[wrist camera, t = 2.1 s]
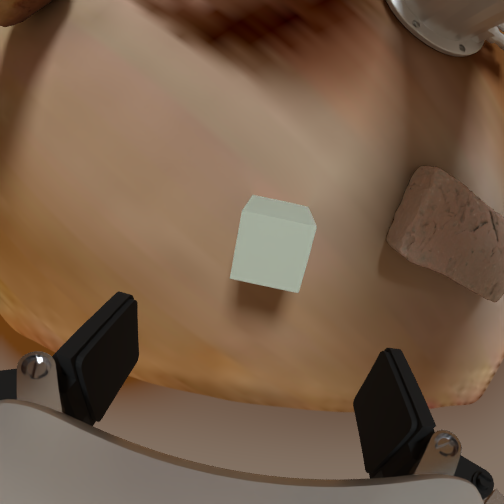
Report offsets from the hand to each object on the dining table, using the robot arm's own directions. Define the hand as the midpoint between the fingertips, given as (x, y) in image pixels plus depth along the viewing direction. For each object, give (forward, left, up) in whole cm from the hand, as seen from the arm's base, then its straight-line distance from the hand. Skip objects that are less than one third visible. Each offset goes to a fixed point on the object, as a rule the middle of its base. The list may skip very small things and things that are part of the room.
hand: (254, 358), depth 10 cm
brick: (-19, -4, -18) cm, 27 cm away
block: (0, 0, -18) cm, 18 cm away
